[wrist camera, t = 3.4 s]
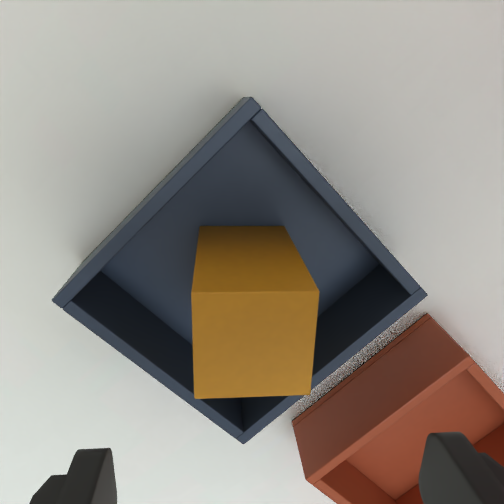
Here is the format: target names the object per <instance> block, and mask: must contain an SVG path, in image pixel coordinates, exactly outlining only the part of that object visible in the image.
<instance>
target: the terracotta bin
mask: <svg viewBox="0 0 504 504" xmlns="http://www.w3.org/2000/svg"><path fill="white" fill-rule="evenodd" d="M292 424H293V427H294V432H295V437H296V441H297V445H298V449H299V454H300V458H301V462H302V466H303V471H304V475H305V479H306V480H307V481H308V482H309V483H311V484H313V486H314V487H316V488H317V489H318V490H320V491H321V492H322V493H324V494H325V495H326V496H328V497H329V498H330V499H332V500H333V501H334V502H336V503H337V504H424V503H423V501H422V498H421V494H420V490H419V482H418V479H419V472H420V467H421V463H422V458H423V453H424V448H425V444H426V439H427V436H428V435H429V434H430V433H439V432H461V433H463V434H464V435H465V436H466V437H467V439H468V440H469V441H470V443H471V444H472V445H473V447H474V448H475V449H476V451H477V452H478V453H486V454H488V455H489V456H490V457H491V458H493V459H494V460H495V461H497V462H498V463H499V464H500V465H502V466H503V467H504V393H503V392H502V391H501V390H500V389H499V388H498V387H497V386H496V384H495V383H494V382H493V381H492V380H491V379H490V378H489V377H488V376H487V374H486V373H485V372H484V371H483V370H482V369H481V368H480V367H479V366H478V365H477V363H476V362H475V361H474V360H473V359H472V358H471V357H470V356H469V355H468V354H467V353H466V352H465V351H464V350H463V349H462V348H461V347H460V346H459V345H458V343H457V342H456V341H455V340H454V339H453V338H452V337H451V336H450V335H449V334H448V333H447V332H446V331H445V330H444V329H443V328H442V327H441V326H440V325H439V324H438V323H437V322H436V321H435V320H434V319H433V318H432V317H431V316H430V315H429V314H426V315H425V316H423V317H422V318H421V319H420V320H418V321H417V322H416V323H415V324H413V325H412V326H411V327H410V328H408V329H407V330H406V331H405V332H403V333H402V334H401V335H400V336H398V337H397V338H396V339H395V340H393V341H392V342H391V343H390V344H388V345H387V346H386V347H385V348H383V349H382V350H381V351H380V352H378V353H377V354H376V355H375V356H373V357H372V358H371V359H370V360H368V361H367V362H366V363H365V364H363V365H362V366H361V367H360V368H358V369H357V370H356V371H355V372H353V373H352V374H351V375H350V376H348V377H347V378H346V379H345V380H343V381H342V382H341V383H340V384H338V385H337V386H336V387H335V388H333V389H332V390H331V391H330V392H328V393H327V394H326V395H325V396H323V397H322V398H321V399H320V400H318V401H317V402H316V403H315V404H313V405H312V406H311V407H310V408H308V409H307V410H306V411H305V412H303V413H302V414H301V415H300V416H298V417H297V418H296V419H295V420H293V421H292Z"/></svg>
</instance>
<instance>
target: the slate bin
mask: <svg viewBox="0 0 504 504" xmlns="http://www.w3.org/2000/svg"><path fill="white" fill-rule="evenodd" d="M200 226H285V228H286V230H287V232H288V234H289V236H290V238H291V239H292V241H293V243H294V245H295V247H296V249H297V251H298V252H299V254H300V256H301V258H302V260H303V262H304V264H305V265H306V267H307V269H308V271H309V273H310V275H311V277H312V278H313V280H314V282H315V284H316V286H317V288H318V290H319V303H318V314H317V325H316V336H315V348H314V359H313V370H312V381H311V390H312V389H313V388H314V387H315V386H316V385H318V384H319V383H320V382H321V381H323V380H324V379H325V378H326V377H328V376H329V375H330V374H331V373H333V372H334V371H335V370H336V369H337V368H339V367H340V366H341V365H342V364H344V363H345V362H346V361H347V360H349V359H350V358H351V357H352V356H354V355H355V354H356V353H357V352H358V351H360V350H361V349H362V348H363V347H365V346H366V345H367V344H368V343H370V342H371V341H372V340H373V339H375V338H376V337H377V336H378V335H379V334H381V333H382V332H383V331H384V330H386V329H387V328H388V327H389V326H391V325H392V324H393V323H394V322H396V321H397V320H398V319H399V318H400V317H402V316H403V315H404V314H405V313H407V312H408V311H409V310H410V309H412V308H413V307H414V306H415V305H417V304H418V303H419V302H420V301H421V300H423V299H424V298H425V297H426V296H427V293H426V292H425V291H424V290H423V289H422V288H421V287H420V285H419V284H418V283H417V282H416V281H415V280H414V279H413V278H412V276H411V275H410V274H409V273H408V272H407V271H406V270H405V269H404V267H403V266H402V265H401V264H400V263H399V262H398V261H397V260H396V258H395V257H394V256H393V255H392V254H391V253H390V252H389V251H388V249H387V248H386V247H385V246H384V245H383V244H382V243H381V242H380V240H379V239H378V238H377V237H376V236H375V235H374V234H373V233H372V231H371V230H370V229H369V228H368V227H367V226H366V225H365V224H364V222H363V221H362V220H361V219H360V218H359V217H358V216H357V215H356V213H355V212H354V211H353V210H352V209H351V208H350V207H349V205H348V204H347V203H346V202H345V201H344V200H343V199H342V198H341V196H340V195H339V194H338V193H337V192H336V191H335V190H334V189H333V187H332V186H331V185H330V184H329V183H328V182H327V181H326V180H325V178H324V177H323V176H322V175H321V174H320V173H319V172H318V171H317V169H316V168H315V167H314V166H313V165H312V164H311V163H310V162H309V160H308V159H307V158H306V157H305V156H304V155H303V154H302V153H301V151H300V150H299V149H298V148H297V147H296V146H295V145H294V144H293V142H292V141H291V140H290V139H289V138H288V137H287V136H286V135H285V133H284V132H283V131H282V130H281V129H280V128H279V127H278V125H277V124H276V123H275V122H274V121H273V120H272V119H271V118H270V116H269V115H268V114H267V113H266V112H265V111H264V110H263V109H261V106H260V105H259V104H258V103H257V102H256V101H255V100H254V98H252V97H243V98H242V99H241V100H240V101H239V102H238V103H237V104H236V105H235V106H234V107H233V108H232V110H231V111H230V112H229V113H228V114H227V115H226V116H225V117H224V118H223V119H222V120H221V121H220V122H219V123H218V124H217V125H216V126H215V127H214V128H213V129H212V130H211V131H210V132H209V133H208V134H207V135H206V136H205V137H204V138H203V139H202V140H201V141H200V142H199V143H198V144H197V145H196V146H195V147H194V148H193V149H192V150H191V152H190V153H189V154H188V155H187V156H186V157H185V158H184V159H183V160H182V161H181V162H180V163H179V164H178V165H177V166H176V167H175V168H174V169H173V170H172V171H171V172H170V173H169V174H168V175H167V176H166V177H165V178H164V179H163V180H162V181H161V182H160V183H159V184H158V185H157V186H156V187H155V188H154V189H153V190H152V191H151V192H150V193H149V195H148V196H147V197H146V198H145V199H144V200H143V201H142V202H141V203H140V204H139V205H138V206H137V207H136V208H135V209H134V210H133V211H132V212H131V213H130V214H129V215H128V216H127V217H126V218H125V219H124V220H123V221H122V222H121V223H120V224H119V225H118V226H117V227H116V228H115V229H114V230H113V231H112V232H111V233H110V234H109V235H108V237H107V238H106V239H105V240H104V241H103V242H102V243H101V244H100V245H99V246H98V247H97V248H96V249H95V250H94V251H93V252H92V253H91V254H90V255H89V256H88V257H87V258H86V259H85V260H84V261H83V262H82V263H81V264H80V266H79V267H78V268H77V269H76V271H75V272H74V273H73V274H72V276H71V277H70V278H69V279H68V281H67V282H66V283H65V284H64V285H63V287H62V288H61V289H60V290H59V292H58V293H57V294H56V295H55V296H54V298H53V299H52V301H53V302H54V303H55V304H56V305H58V306H59V307H60V308H63V310H64V311H65V312H67V313H68V314H69V315H71V316H72V317H73V318H75V319H76V320H77V321H79V322H80V323H82V324H83V325H84V326H86V327H87V328H88V329H90V330H91V331H92V332H94V333H95V334H96V335H98V336H99V337H100V338H102V339H103V340H104V341H106V342H107V343H108V344H110V345H111V346H112V347H114V348H115V349H116V350H118V351H119V352H120V353H122V354H123V355H124V356H126V357H127V358H128V359H130V360H131V361H132V362H134V363H135V364H136V365H138V366H139V367H140V368H142V369H143V370H144V371H146V372H147V373H148V374H150V375H151V376H152V377H154V378H155V379H156V380H158V381H159V382H160V383H162V384H163V385H165V386H166V387H167V388H169V389H170V390H171V391H173V392H174V393H175V394H177V395H178V396H179V397H181V398H182V399H183V400H185V401H186V402H187V403H189V404H190V405H191V406H193V407H194V408H195V409H197V410H198V411H199V412H201V413H202V414H203V415H205V416H206V417H207V418H209V419H210V420H211V421H213V422H214V423H215V424H217V425H218V426H219V427H221V428H222V429H223V430H225V431H226V432H227V433H229V434H230V435H231V436H233V437H234V438H236V439H237V440H238V441H240V442H241V443H242V444H245V443H246V442H247V441H249V440H250V439H251V438H252V437H253V436H255V435H256V434H257V433H258V432H260V431H261V430H262V429H263V428H265V427H266V426H267V425H268V424H270V423H271V422H272V421H273V420H274V419H276V418H277V417H278V416H279V415H281V414H282V413H283V412H284V411H286V410H287V409H288V408H289V407H291V406H292V405H293V404H294V403H295V402H297V401H298V400H299V399H300V398H302V397H303V396H304V395H292V396H264V397H235V398H207V399H195V398H194V374H193V340H192V305H191V291H192V283H193V275H194V267H195V259H196V251H197V243H198V235H199V227H200Z"/></svg>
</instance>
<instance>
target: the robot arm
mask: <svg viewBox="0 0 504 504" xmlns="http://www.w3.org/2000/svg"><path fill="white" fill-rule="evenodd" d="M418 482H419V490H420V494H421V498H422V501H423V503H424V504H504V467H503V466H502V465H500V464H499V463H498V462H497V461H495V460H494V459H493V458H491V457H490V456H489V455H488V454H486V453H478V452H477V451H476V449H475V448H474V447H473V445H472V444H471V443H470V441H469V440H468V439H467V437H466V436H465V435H464V434H463V433H461V432H439V433H430V434H429V435H428V436H427V439H426V444H425V448H424V453H423V458H422V463H421V467H420V472H419V479H418ZM30 504H117V490H116V481H115V473H114V465H113V457H112V451H111V449H110V448H100V449H80V450H77V452H76V453H75V455H74V458H73V460H72V463H71V465H70V468H69V470H68V473H67V475H51V476H50V478H49V479H48V480H47V481H46V482H45V483H44V484H43V485H42V486H41V488H40V489H39V490H38V491H37V492H36V493H35V494H34V495H33V497H32V499H31V501H30Z"/></svg>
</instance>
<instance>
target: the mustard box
mask: <svg viewBox="0 0 504 504" xmlns="http://www.w3.org/2000/svg"><path fill="white" fill-rule="evenodd" d="M318 303H319V290H318V288H317V286H316V284H315V282H314V280H313V278H312V277H311V275H310V273H309V271H308V269H307V267H306V265H305V264H304V262H303V260H302V258H301V256H300V254H299V252H298V251H297V249H296V247H295V245H294V243H293V241H292V239H291V238H290V236H289V234H288V232H287V230H286V228H285V226H200V227H199V235H198V243H197V251H196V259H195V267H194V275H193V283H192V291H191V305H192V340H193V374H194V398H195V399H207V398H235V397H264V396H292V395H310V392H311V381H312V370H313V359H314V348H315V336H316V325H317V314H318Z"/></svg>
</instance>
